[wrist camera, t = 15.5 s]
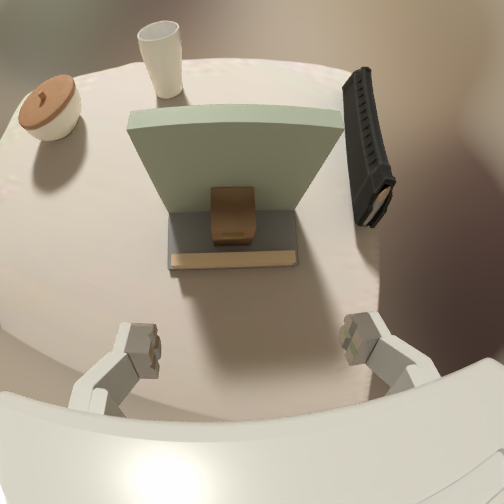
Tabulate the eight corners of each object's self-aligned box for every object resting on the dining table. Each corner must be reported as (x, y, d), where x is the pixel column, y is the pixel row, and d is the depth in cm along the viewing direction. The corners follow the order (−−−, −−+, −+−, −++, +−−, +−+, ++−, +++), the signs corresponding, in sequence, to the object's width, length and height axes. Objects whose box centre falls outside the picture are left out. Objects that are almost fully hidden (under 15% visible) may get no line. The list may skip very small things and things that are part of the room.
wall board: (296, 265, 40) (364, 216, 19) (169, 269, 38) (111, 222, 18) (291, 200, 42) (340, 111, 22) (170, 203, 40) (130, 111, 20)
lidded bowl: (99, 100, 44) (81, 63, 33) (74, 151, 41) (47, 117, 30) (55, 104, 43) (34, 73, 32) (30, 152, 40) (3, 124, 30)
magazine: (352, 54, 41) (406, 148, 26) (368, 59, 41) (428, 156, 26) (329, 120, 55) (351, 232, 41) (343, 123, 56) (370, 235, 41)
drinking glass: (191, 95, 45) (184, 32, 31) (156, 107, 44) (140, 46, 29) (181, 75, 46) (173, 16, 32) (148, 86, 45) (133, 28, 31)
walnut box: (250, 249, 39) (256, 232, 31) (214, 250, 38) (210, 233, 31) (248, 211, 40) (254, 187, 32) (213, 212, 40) (210, 187, 32)
